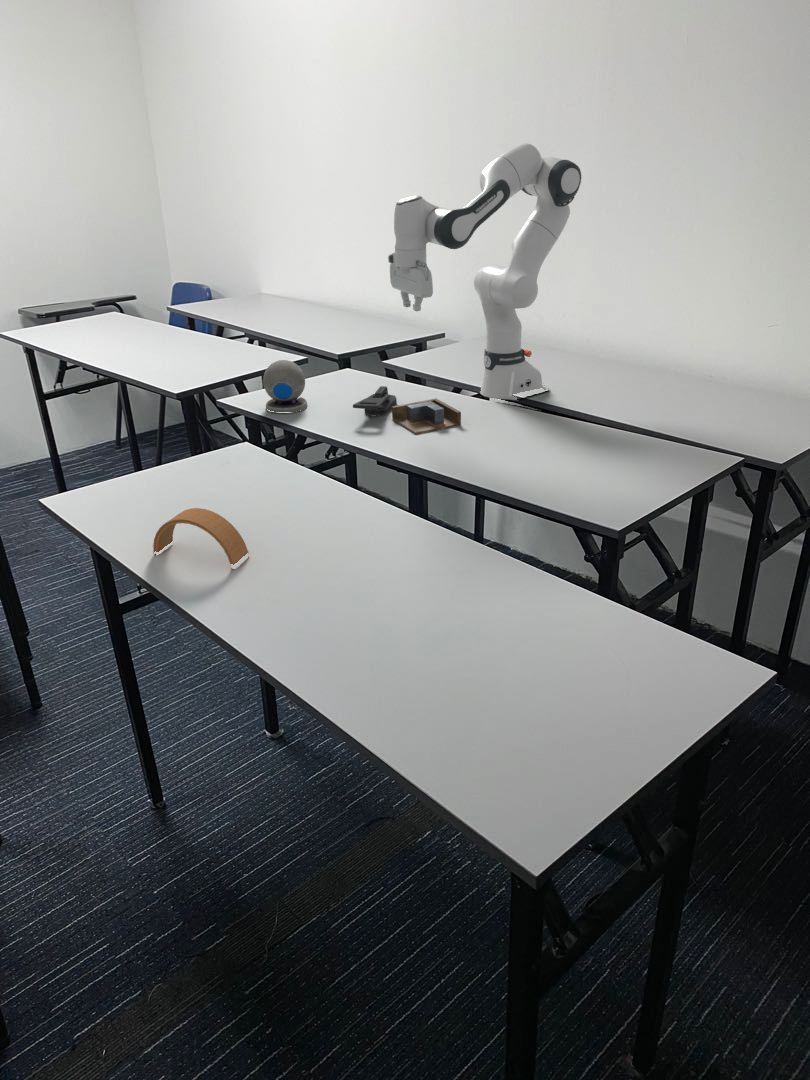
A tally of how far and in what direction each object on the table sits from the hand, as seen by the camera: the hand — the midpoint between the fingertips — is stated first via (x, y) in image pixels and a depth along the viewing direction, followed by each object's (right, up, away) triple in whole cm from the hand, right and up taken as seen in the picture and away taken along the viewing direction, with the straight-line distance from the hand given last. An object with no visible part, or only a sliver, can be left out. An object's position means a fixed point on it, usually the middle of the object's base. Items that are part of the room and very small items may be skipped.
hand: (411, 308), depth 236 cm
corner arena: (+4, -32, +5) cm, 33 cm away
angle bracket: (+4, -32, +4) cm, 33 cm away
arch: (-45, -71, -65) cm, 106 cm away
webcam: (-39, -25, +22) cm, 52 cm away
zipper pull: (-11, -28, +14) cm, 34 cm away
